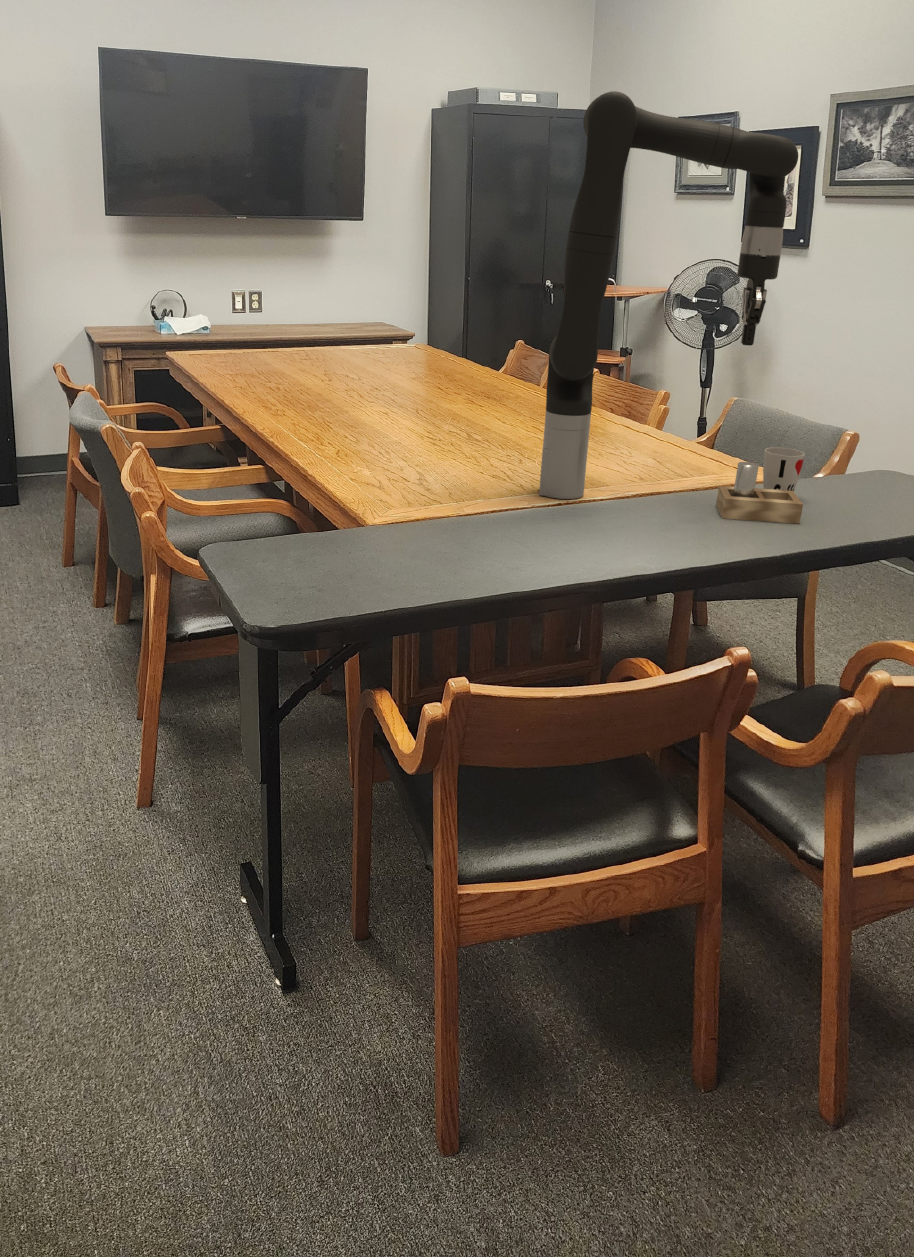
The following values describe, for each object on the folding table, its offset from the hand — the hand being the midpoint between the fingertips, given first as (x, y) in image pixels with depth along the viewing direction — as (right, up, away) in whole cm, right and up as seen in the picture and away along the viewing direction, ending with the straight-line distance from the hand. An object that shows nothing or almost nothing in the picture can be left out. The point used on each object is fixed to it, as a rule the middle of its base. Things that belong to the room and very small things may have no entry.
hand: (747, 344), depth 209 cm
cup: (+11, -28, +17) cm, 35 cm away
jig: (+3, -33, +5) cm, 33 cm away
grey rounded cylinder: (0, -33, +5) cm, 33 cm away
